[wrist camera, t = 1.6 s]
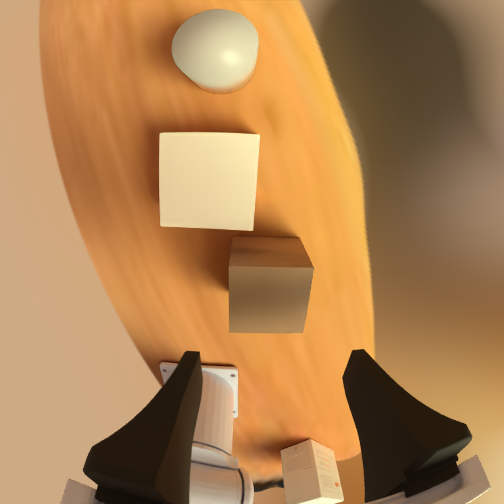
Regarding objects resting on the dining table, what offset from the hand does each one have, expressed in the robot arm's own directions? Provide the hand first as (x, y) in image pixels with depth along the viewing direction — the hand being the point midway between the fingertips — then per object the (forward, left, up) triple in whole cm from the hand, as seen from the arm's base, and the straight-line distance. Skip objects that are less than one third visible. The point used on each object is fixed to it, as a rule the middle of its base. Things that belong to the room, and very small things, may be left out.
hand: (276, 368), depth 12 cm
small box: (-33, -9, -11) cm, 36 cm away
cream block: (+7, +4, -11) cm, 13 cm away
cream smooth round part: (+15, +4, -10) cm, 19 cm away
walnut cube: (0, 0, -10) cm, 10 cm away
